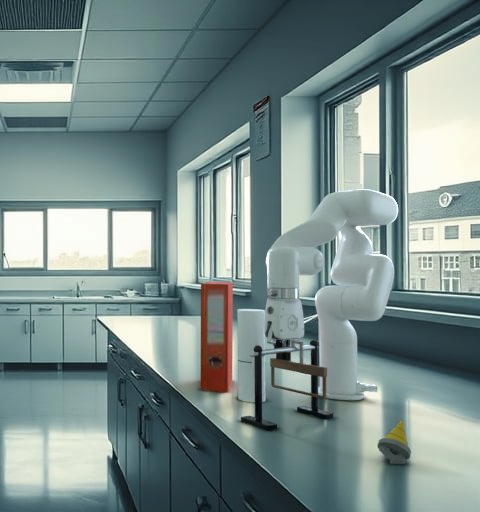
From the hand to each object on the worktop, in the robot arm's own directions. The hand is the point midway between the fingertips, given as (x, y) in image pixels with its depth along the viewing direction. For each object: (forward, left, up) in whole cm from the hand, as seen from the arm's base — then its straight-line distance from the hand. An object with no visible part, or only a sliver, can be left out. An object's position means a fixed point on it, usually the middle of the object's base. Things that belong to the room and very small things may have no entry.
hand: (283, 365), depth 141 cm
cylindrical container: (+7, -10, -12) cm, 17 cm away
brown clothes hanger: (-3, +6, -5) cm, 8 cm away
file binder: (+16, -26, -12) cm, 33 cm away
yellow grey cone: (-16, +32, -12) cm, 37 cm away
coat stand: (0, +9, -12) cm, 14 cm away
